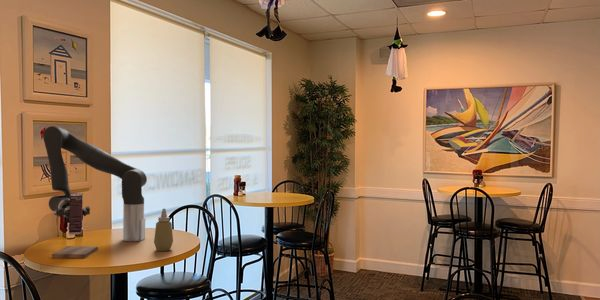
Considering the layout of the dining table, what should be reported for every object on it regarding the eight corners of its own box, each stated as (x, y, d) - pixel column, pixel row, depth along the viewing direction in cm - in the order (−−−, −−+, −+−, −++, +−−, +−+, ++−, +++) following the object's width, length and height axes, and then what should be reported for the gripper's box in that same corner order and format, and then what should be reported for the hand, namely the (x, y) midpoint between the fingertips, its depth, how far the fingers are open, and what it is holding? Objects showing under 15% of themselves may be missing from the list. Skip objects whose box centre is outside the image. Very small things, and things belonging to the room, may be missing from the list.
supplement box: (81, 234, 186) (82, 195, 186) (68, 235, 184) (69, 195, 184) (82, 230, 194) (83, 192, 193) (69, 230, 192) (70, 193, 191)
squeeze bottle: (176, 248, 201) (177, 208, 201) (165, 253, 193) (166, 210, 193) (161, 246, 204) (161, 206, 203) (149, 251, 196) (150, 209, 196)
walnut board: (97, 250, 196) (98, 246, 196) (84, 258, 183) (84, 254, 183) (67, 249, 195) (67, 246, 195) (51, 257, 182) (51, 254, 182)
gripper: (50, 200, 196) (57, 206, 182) (86, 198, 204) (95, 203, 191) (50, 218, 196) (57, 224, 182) (86, 215, 205) (95, 221, 191)
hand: (77, 214), depth 187 cm, fingers closed on supplement box, 5 cm apart
